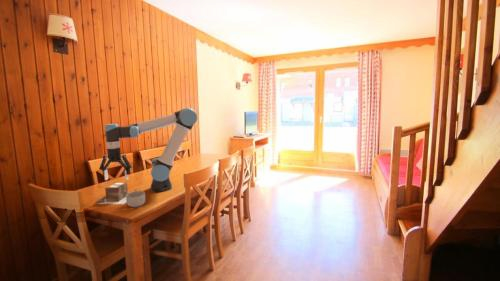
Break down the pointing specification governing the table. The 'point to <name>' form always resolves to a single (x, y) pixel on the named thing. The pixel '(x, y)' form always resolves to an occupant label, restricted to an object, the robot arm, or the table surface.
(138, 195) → the teacup
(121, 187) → the wooden box
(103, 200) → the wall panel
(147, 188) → the table surface
